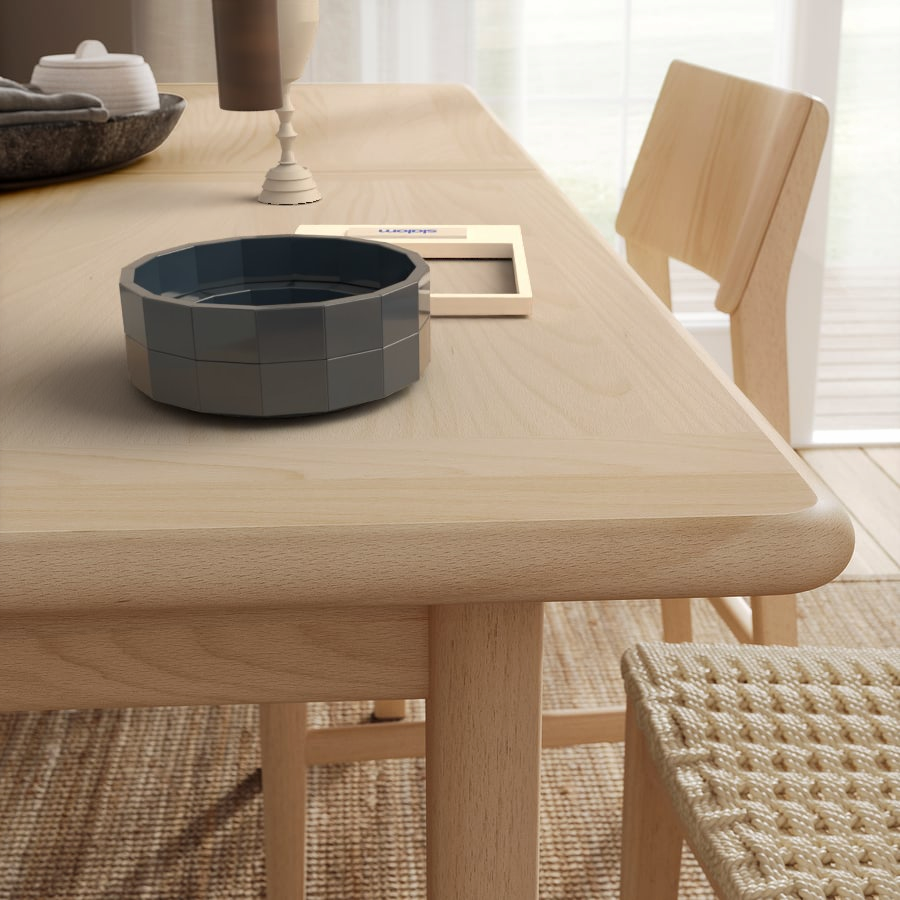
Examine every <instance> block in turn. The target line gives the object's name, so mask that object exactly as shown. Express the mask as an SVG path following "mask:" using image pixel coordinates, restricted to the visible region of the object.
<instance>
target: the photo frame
mask: <svg viewBox="0 0 900 900" xmlns="http://www.w3.org/2000/svg"><path fill="white" fill-rule="evenodd" d="M293 234H305V235H332V236H347V237H354V238H361V239H368V240H375V241H381V242H387V243H390V244H393V245H396V246H399V247H402V248H405V249H408V250H411V251H414V252H417V253H419V255H420V256H421V257H422V258H423V259H425V258H432V259H433V258H434V259H436V258H438V259H439V258H440V259H441V258H442V259H443V258H444V259H445V258H446V259H447V258H448V259H449V258H450V259H451V258H452V259H453V258H455V259H463V258H464V259H466V258H467V259H471V258H473V259H474V258H475V259H477V258H478V259H490V258H491V259H496V258H497V259H511V260H512V266H513V267H512V268H513V274H514V281H515V287H516V288H515V289H516V293H430V315H510V316H511V315H514V316H515V315H520V316H521V315H522V316H523V315H524V316H525V315H533V299H534V298H533V291H532V287H531V282H530V275H529V271H528V270H529V269H528V264H527V258H526V252H525V248H524V242H523V241H524V240H523V236H522V231H521V225H520V224H299V226H298V227H297V228H296V230H295V232H294V233H293Z"/></svg>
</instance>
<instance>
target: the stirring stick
mask: <svg viewBox="0 0 900 900" xmlns="http://www.w3.org/2000/svg"><path fill="white" fill-rule="evenodd" d="M210 1H211V2H210V3H211V14H212V15H211V16H212V26H213V39H214V51H215V52H214V55H215V65H216V77H217V78H216V79H217V92H218V107H219V109H220V110H223V111H227V112H241V113H242V112H244V113H245V112H246V113H249V112H252V113H253V112H266V111H275V110H276V109H280V108H282V107H283V91H282V73H281V55H280V37H279V19H278V2H277V0H210Z"/></svg>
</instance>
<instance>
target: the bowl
mask: <svg viewBox="0 0 900 900" xmlns="http://www.w3.org/2000/svg"><path fill="white" fill-rule="evenodd" d="M118 290H119V297H120V306H121V307H120V308H121V314H122V324H123V332H124V340H125V341H124V343H125V350H126V357H127V359H126V360H127V367H128V377H129V381H130V383H131V385H133V386H134V387H135V388H137V389H138V390H139V391H141V392H142V393H144V394H145V395H146V396H147V397H149V398H150V399H151V400H153V401H155V402H159V403H163V404H167V405H171V406H175V407H179V408H182V409H186V410H190V411H194V412H198V413H204V414H205V413H206V414H210V415H216V416H223V417H231V418H242V419H245V418H246V419H285V418H287V419H288V418H300V417H308V416H309V417H310V416H317V415H323V414H328V413H334V412H338V411H343V410H347V409H350V408H354V407H358V406H360V405H364V404H366V403H369V402H373V401H377V400H382V399H384V398H386V397H388V396H391V395H392V394H395V393H397V392H399V391H400V390H403V389H405V388H407V387H408V386H410V385H413V384H414V383H416V382H419V381H420V380H421V378H422V376H423V374H424V373H425V371H426V370H427V368H428V367H429V365H430V364H431V360H432V354H431V353H432V352H431V351H432V349H431V342H432V341H431V314H430V294H431V268H430V265H429V263H428V262H427V261H426V260H425V258H422V257H421V256H420V255H419V253H417V252H414V251H411V250H408V249H405V248H402V247H399V246H396V245H393V244H390V243H387V242H381V241H375V240H368V239H361V238H354V237H347V236H332V235H305V234H294V233H284V234H282V233H280V234H264V235H263V234H261V235H260V234H259V235H242V236H240V235H239V236H232V237H231V236H230V237H225V238H216V239H210V240H209V239H208V240H203V241H202V240H201V241H195V242H188V243H184V244H180V245H176V246H173V247H170V248H166V249H163V250H158V251H155V252H151V253H147V254H145V255H143V256H141V257H139V258H138V259H135V260H134V261H133V262H130V263H129V264H127V265H125V266H123V267H122V268H121V269H120V274H119V281H118Z"/></svg>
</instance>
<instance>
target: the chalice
mask: <svg viewBox="0 0 900 900" xmlns="http://www.w3.org/2000/svg"><path fill="white" fill-rule="evenodd" d="M277 2H278V19H279V37H280V55H281V73H282V91H283V107H282V108H280V109H276V110H274V111H275V113H276V114H277V116H278V119H279V128H278V131H277V132H276V134H275V135H274V136H275V137H276V138H277V140H279V141H278V142H279V144H280V149H281V155H280V160H279V161H277V163H278V165H276V166H275V167H271V168H269V169H268V171H267V173H266V174H265V176H264V178H265V180H264V181H263V183H262V186H261V188H262V190H261V191H260V194H259V196H258V198H257V201H258V202H260V203H263V204H268V203H271V204H270V205H279V204H293V205H299V204H298V203H305V204H307V203H306V202H312V203H314V202H313V201H316V200H319V199H321V197H322V198H323V196H322V194H321V193H320V192H319V190H318V188H317V186H318V185H317V183H316V182H315V180H314V178H313V174H312V172H311V171H310V170H309V168H307V167H305V166H301V165H299V164H298V162H299V161H298V160H296V157H295V154H294V144H295V139H296V138H297V137H298V133H297V132H296V131H295V130H294V127H293V124H292V119H293V115H294V113H295V112H296V108H295V107H294V106H293V103H292V97H291V87H292V83H293V82H295V81H297V80H299V79H301V78H302V75H303V73H304V70H305V68H306V65H307V63H308V60H309V57H310V55H311V53H312V52H311V51H312V49H313V48H314V47H313V46H314V43H315V40H316V35H317V31H318V27H319V24H320V5H319V4H320V3H319V0H277ZM321 200H322V199H321ZM319 201H320V200H319ZM316 202H317V201H316Z"/></svg>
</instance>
